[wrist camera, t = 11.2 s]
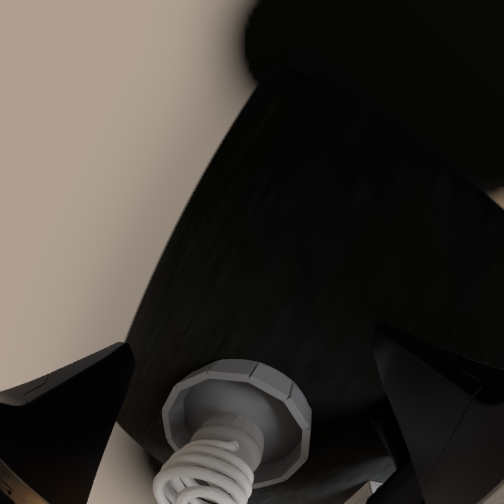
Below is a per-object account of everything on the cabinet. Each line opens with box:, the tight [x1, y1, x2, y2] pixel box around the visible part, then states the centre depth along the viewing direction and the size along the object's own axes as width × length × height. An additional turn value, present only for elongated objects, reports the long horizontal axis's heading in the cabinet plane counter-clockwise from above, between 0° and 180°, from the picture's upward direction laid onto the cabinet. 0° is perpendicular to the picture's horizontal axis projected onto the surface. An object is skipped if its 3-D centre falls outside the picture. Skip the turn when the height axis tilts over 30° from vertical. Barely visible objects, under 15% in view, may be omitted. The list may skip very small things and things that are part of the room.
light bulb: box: [153, 413, 264, 504], centre depth 15 cm, size 6×6×12 cm
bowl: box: [162, 359, 312, 489], centre depth 19 cm, size 12×12×4 cm
